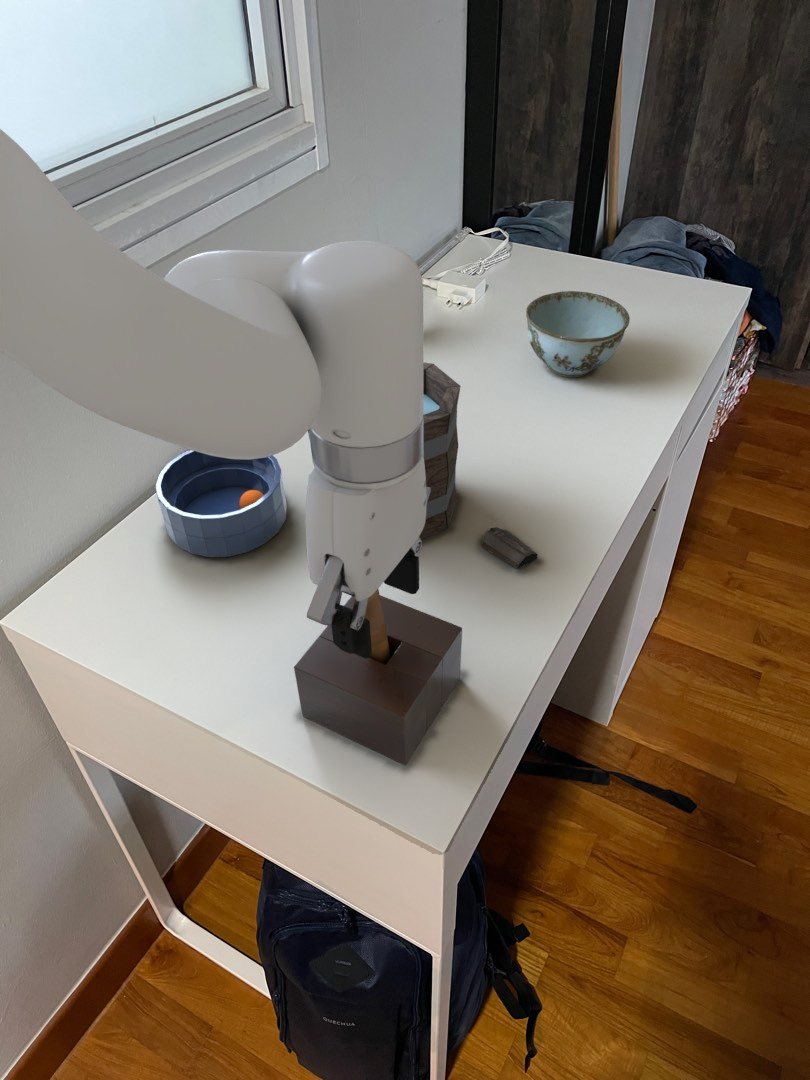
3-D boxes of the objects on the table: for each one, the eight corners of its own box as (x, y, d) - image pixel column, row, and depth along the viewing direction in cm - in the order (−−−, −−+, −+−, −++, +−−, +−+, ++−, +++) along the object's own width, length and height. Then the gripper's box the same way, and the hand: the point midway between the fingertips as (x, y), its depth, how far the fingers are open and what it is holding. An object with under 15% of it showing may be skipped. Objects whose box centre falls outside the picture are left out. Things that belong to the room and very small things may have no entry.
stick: (379, 709, 73) (352, 576, 62) (372, 693, 74) (345, 561, 64) (400, 702, 73) (377, 568, 63) (393, 686, 74) (369, 553, 64)
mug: (481, 496, 94) (487, 383, 84) (411, 563, 86) (409, 448, 76) (349, 438, 103) (340, 329, 92) (274, 494, 95) (256, 382, 85)
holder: (405, 766, 68) (403, 717, 64) (302, 716, 72) (293, 666, 67) (460, 677, 75) (462, 627, 70) (363, 636, 79) (359, 586, 74)
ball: (275, 506, 90) (258, 526, 91) (269, 491, 92) (253, 510, 93) (253, 496, 88) (236, 516, 89) (247, 480, 90) (231, 500, 91)
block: (517, 575, 84) (518, 563, 83) (476, 545, 88) (477, 533, 87) (540, 559, 86) (542, 546, 85) (500, 530, 90) (501, 518, 88)
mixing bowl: (177, 573, 86) (164, 531, 81) (160, 498, 95) (148, 456, 91) (299, 543, 89) (293, 500, 85) (272, 472, 98) (265, 431, 94)
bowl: (510, 382, 111) (514, 329, 106) (533, 335, 121) (538, 284, 115) (610, 400, 108) (620, 346, 102) (627, 350, 117) (637, 298, 111)
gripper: (383, 363, 61) (390, 538, 73) (241, 495, 50) (277, 675, 62) (474, 388, 58) (466, 565, 70) (345, 533, 47) (362, 714, 59)
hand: (377, 616), depth 66 cm, fingers open, 7 cm apart
